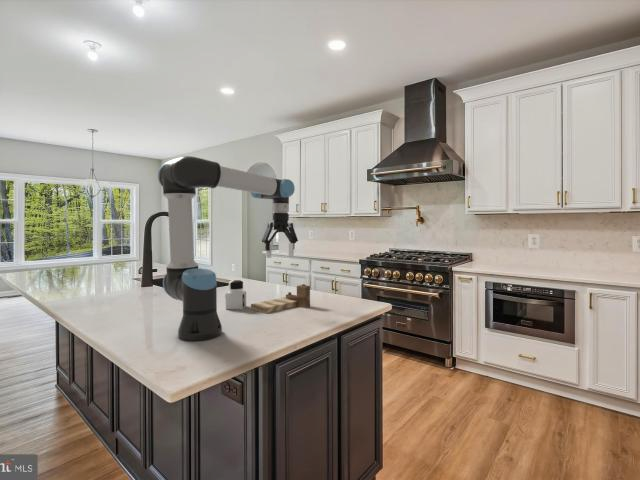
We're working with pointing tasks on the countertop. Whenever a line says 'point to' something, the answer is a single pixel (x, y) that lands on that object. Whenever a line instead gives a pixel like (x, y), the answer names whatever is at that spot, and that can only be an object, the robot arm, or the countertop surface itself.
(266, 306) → the board
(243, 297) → the container
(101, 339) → the countertop surface
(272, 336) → the countertop surface
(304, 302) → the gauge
